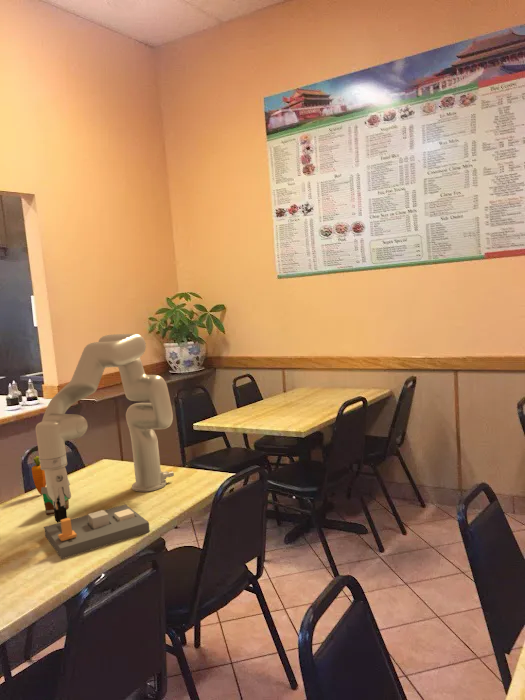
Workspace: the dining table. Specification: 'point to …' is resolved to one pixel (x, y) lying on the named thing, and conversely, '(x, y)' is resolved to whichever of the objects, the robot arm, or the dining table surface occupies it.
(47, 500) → the food container
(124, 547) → the dining table surface
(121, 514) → the cream button
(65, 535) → the orange slider handle
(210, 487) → the dining table surface
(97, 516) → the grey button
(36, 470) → the carrot
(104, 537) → the switch panel
